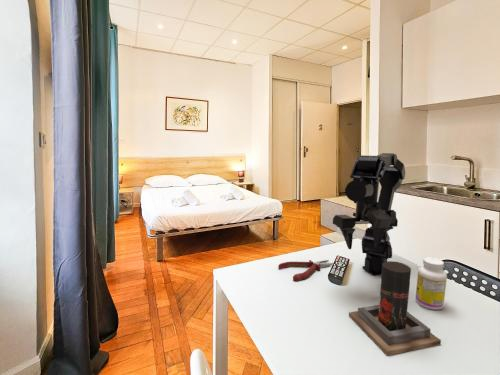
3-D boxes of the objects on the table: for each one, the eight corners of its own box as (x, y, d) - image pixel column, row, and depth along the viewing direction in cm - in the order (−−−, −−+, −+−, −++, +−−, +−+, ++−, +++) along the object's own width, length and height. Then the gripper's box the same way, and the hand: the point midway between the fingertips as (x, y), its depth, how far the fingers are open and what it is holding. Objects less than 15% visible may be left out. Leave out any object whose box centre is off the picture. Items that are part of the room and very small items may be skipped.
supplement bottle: (418, 294, 81) (423, 253, 79) (445, 303, 77) (450, 260, 75) (412, 303, 77) (416, 260, 75) (440, 314, 72) (445, 268, 70)
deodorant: (410, 333, 63) (416, 272, 61) (384, 332, 64) (389, 272, 61) (397, 317, 69) (402, 261, 67) (373, 317, 69) (377, 261, 67)
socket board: (394, 308, 75) (395, 298, 74) (440, 344, 61) (441, 332, 61) (348, 315, 72) (349, 305, 71) (386, 355, 58) (388, 343, 58)
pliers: (342, 271, 97) (342, 264, 97) (295, 283, 89) (295, 276, 89) (321, 259, 108) (321, 253, 107) (277, 269, 99) (277, 262, 99)
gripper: (355, 203, 72) (351, 260, 74) (415, 202, 76) (409, 256, 78) (333, 196, 82) (330, 246, 84) (386, 195, 87) (382, 243, 89)
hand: (362, 248), depth 84 cm, fingers open, 9 cm apart
